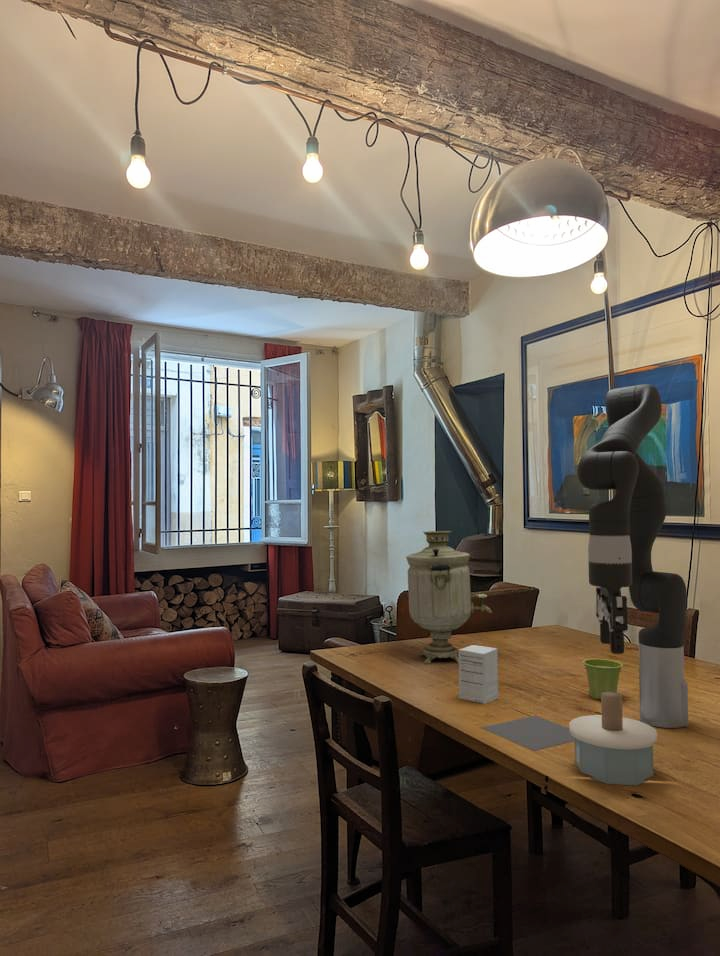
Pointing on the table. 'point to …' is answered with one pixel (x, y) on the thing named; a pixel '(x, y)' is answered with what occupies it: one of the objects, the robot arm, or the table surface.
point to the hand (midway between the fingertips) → (611, 648)
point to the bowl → (614, 763)
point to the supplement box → (478, 674)
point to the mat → (532, 732)
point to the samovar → (440, 593)
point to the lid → (612, 727)
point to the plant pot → (602, 676)
